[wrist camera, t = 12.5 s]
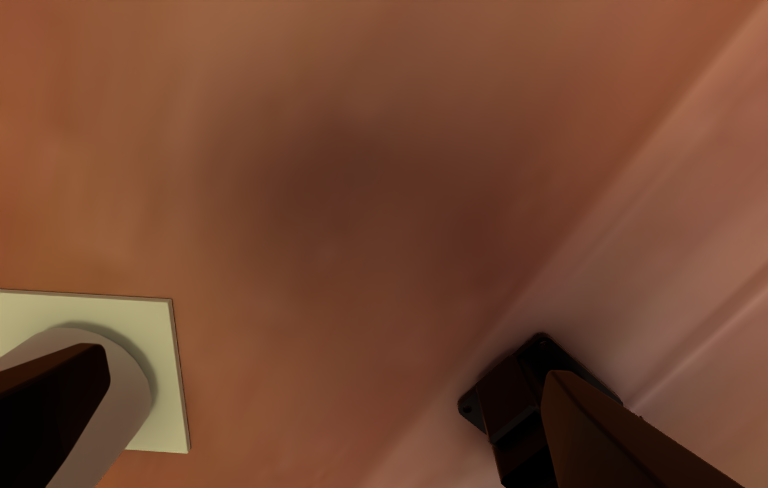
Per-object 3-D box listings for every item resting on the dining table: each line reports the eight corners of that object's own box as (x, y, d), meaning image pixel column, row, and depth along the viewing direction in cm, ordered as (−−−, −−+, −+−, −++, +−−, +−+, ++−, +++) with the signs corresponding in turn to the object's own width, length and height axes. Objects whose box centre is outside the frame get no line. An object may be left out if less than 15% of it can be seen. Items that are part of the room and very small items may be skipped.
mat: (171, 299, 23) (167, 302, 23) (190, 448, 26) (187, 453, 26) (-14, 288, 23) (-21, 291, 23) (28, 437, 27) (23, 442, 26)
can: (139, 450, 26) (-62, 724, 15) (15, 400, 25) (-299, 651, 14) (177, 354, 24) (-28, 592, 12) (41, 296, 23) (-310, 496, 12)
